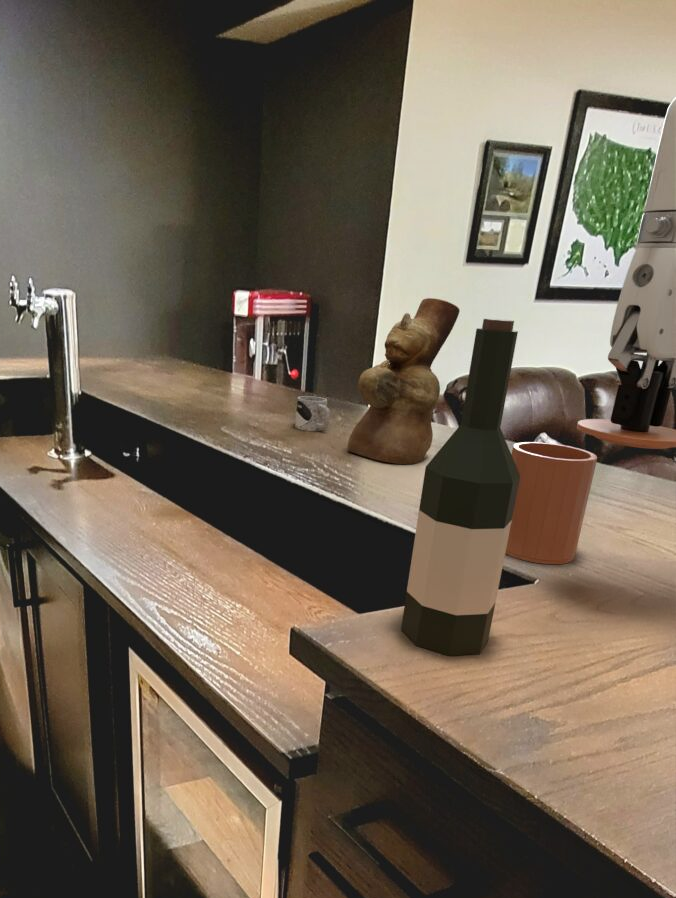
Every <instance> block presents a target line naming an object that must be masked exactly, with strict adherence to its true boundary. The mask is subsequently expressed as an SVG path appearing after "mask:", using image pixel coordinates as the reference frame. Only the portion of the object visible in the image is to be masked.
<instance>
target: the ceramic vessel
mask: <svg viewBox="0 0 676 898" xmlns="http://www.w3.org/2000/svg"><path fill="white" fill-rule="evenodd" d="M460 310H461V309H460V308H459V307H458V305H456V304H454V303H452V302H449V301H447V300H444V299H440V298H435V297H434V298H431V297H427V298H423V299H422V300H421V301H420V304H419V306H418V308H417V311H416V313H415V315H414V317H413V318H411V314H410V312H405V313H404V314H403V316H402V318H401V320H400V321H398V322H396V323H395V324H394V325H393V326H392V328H391V329H390V330H389V332H388V333H387V336H386V339H385V342H384V349H385V354H384V356H385V358H386V359H385V360H383V361H382V362H381V363H380V364H377V365H375V366H373V367H370V368H368V369H365V370H364V371H363V372H362V373H361V374H360V376H359V378H358V384H357V392H358V395H359V396H360V398H361V399H362V401H363V402H364V403H365V404H366V405H369V408H368V409H366V412H365V413H364V414H363V415H362V417H361V419H359V421H358V422H357V423H356V424H355V426H354V427H353V429H352V432H351V433H350V435H349V438H348V441H347V450H348V451H349V452H350V453H354V454H356V455H359V456H362V457H366V458H369V459H372V460H375V461H379V462H383V463H391V464H394V465H395V464H397V465H413V464H418V463H420V462H421V461H422V460H423V459H424V458H425V456H426V454H427V453H428V452H429V450H430V449H431V446H432V443H433V438H434V437H433V435H434V433H433V426H432V420H433V415H434V411H435V408H436V405H437V403H438V400H439V398H440V396H441V395H440V394H441V384H440V381H439V378H438V377H437V375H436V373H434V372H433V370H432V369H431V367H432V365H433V363H434V361H435V360H436V357H437V356H438V354H439V353H440V351H441V349H442V347H443V346H444V345H445V343H446V341H447V339H448V338H449V336H450V334H451V332H452V331H453V328H454V327H455V324H456V322H457V319H458V318H459V315H460Z"/></svg>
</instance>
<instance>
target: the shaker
mask: <svg viewBox="0 0 676 898" xmlns="http://www.w3.org/2000/svg"><path fill="white" fill-rule="evenodd" d="M511 449H512V450H511V455H512V457H513V460H514V462H515V464H516V467H517V469H518V472H519V474H520V481H519V486H518V491H517V496H516V501H515V506H514V511H513V516H512V521H511V526H510V532H509V537H508V542H507V547H506V552H505V555H507V556H510V557H512V558H515V559H518V560H522V561H525V562H531V563H536V564H542V565H564V564H569V563H571V562H572V561H573V560H574V559H575V556H576V553H577V548H578V545H579V540H580V536H581V532H582V527H583V522H584V519H585V513H586V509H587V506H588V501H589V497H590V491H591V488H592V483H593V479H594V474H595V470H596V466H597V461H598V457H597V454H595V453H594V452H591V451H588V450H586V449H582V448H580V447H574V446H570V445H565V444H564V445H563V444H557V443H551V442H541V441H539V442H538V441H524V442H517V443H514V444H513V445H512V448H511Z"/></svg>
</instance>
